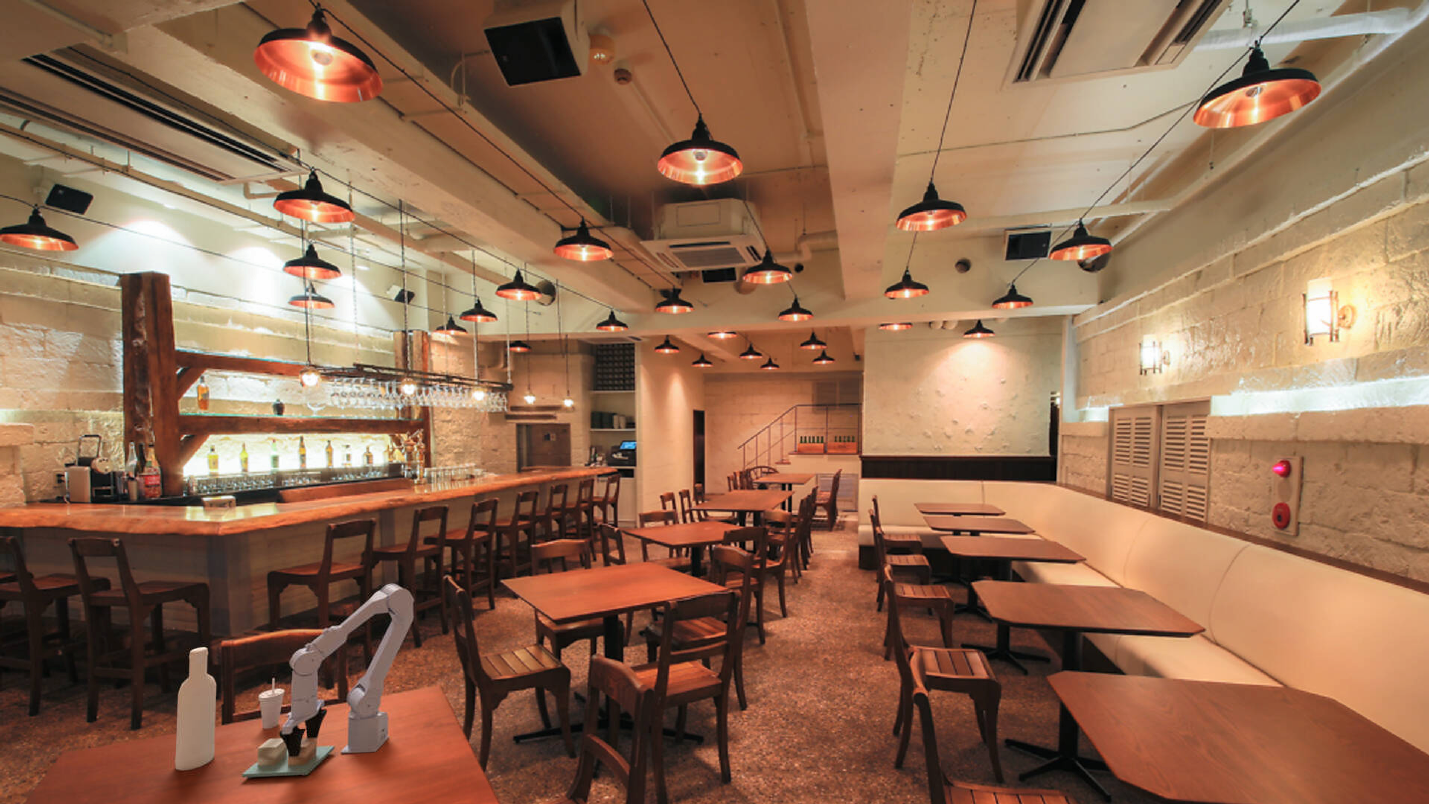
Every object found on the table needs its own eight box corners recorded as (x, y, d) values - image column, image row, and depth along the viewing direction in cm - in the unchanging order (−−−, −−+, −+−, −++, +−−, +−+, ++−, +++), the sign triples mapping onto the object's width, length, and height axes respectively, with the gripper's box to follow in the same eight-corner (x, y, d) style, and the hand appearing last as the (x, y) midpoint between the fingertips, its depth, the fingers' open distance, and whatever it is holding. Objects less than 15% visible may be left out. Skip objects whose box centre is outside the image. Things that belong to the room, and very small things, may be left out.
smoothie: (269, 732, 173) (270, 684, 173) (251, 730, 174) (253, 682, 175) (289, 721, 179) (290, 675, 180) (271, 719, 180) (273, 673, 181)
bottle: (213, 764, 156) (216, 650, 158) (173, 774, 152) (177, 657, 153) (215, 751, 163) (218, 641, 164) (177, 761, 158) (181, 648, 159)
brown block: (316, 754, 157) (316, 737, 158) (305, 764, 153) (306, 746, 153) (299, 755, 157) (299, 738, 157) (287, 765, 153) (288, 747, 153)
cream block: (286, 755, 157) (287, 738, 157) (275, 764, 153) (275, 747, 153) (269, 755, 157) (269, 738, 157) (257, 765, 152) (258, 747, 153)
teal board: (334, 752, 162) (334, 745, 162) (307, 778, 150) (307, 771, 150) (273, 755, 161) (274, 748, 161) (241, 781, 149) (242, 774, 149)
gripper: (305, 684, 163) (304, 734, 162) (270, 709, 148) (268, 764, 148) (332, 683, 163) (331, 732, 163) (299, 708, 149) (298, 762, 148)
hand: (303, 747), depth 155 cm, fingers open, 7 cm apart
